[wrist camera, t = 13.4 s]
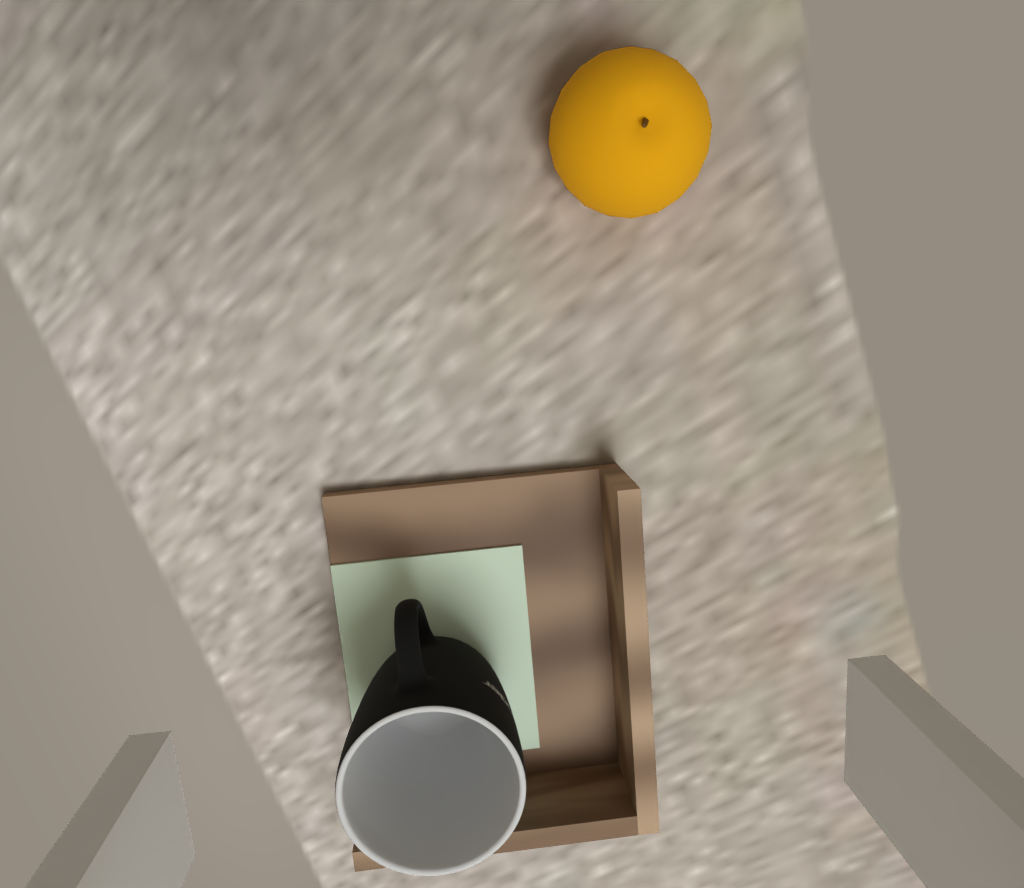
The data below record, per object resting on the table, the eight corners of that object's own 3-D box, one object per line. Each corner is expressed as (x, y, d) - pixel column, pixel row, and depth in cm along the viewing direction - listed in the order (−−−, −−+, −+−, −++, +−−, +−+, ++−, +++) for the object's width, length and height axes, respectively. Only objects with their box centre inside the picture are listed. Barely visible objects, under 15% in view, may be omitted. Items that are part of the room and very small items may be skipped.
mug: (523, 737, 47) (542, 856, 37) (377, 766, 46) (356, 895, 36) (487, 552, 44) (497, 626, 34) (333, 582, 44) (298, 666, 34)
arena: (324, 492, 44) (304, 523, 38) (616, 463, 45) (640, 488, 39) (367, 801, 48) (355, 871, 42) (634, 767, 49) (659, 832, 43)
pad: (330, 564, 44) (330, 565, 44) (521, 544, 45) (522, 545, 44) (359, 767, 47) (358, 769, 46) (539, 745, 47) (539, 747, 47)
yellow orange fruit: (714, 124, 42) (770, 88, 35) (636, 251, 43) (674, 242, 36) (592, 38, 41) (622, -18, 33) (514, 171, 42) (527, 145, 34)
